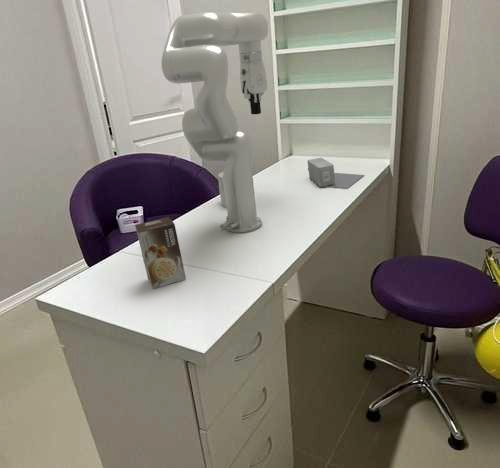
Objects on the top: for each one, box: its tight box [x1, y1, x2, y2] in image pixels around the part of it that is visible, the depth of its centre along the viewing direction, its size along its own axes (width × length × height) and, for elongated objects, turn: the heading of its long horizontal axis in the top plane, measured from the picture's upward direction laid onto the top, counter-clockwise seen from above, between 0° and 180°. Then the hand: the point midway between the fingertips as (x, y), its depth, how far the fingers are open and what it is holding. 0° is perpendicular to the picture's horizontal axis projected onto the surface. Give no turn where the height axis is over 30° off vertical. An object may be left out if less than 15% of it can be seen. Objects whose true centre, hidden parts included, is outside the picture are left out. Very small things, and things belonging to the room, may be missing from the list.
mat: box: [316, 172, 365, 190], centre depth 175 cm, size 18×13×1 cm
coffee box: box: [134, 216, 187, 289], centre depth 109 cm, size 9×6×16 cm
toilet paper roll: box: [217, 171, 227, 208], centre depth 161 cm, size 12×12×12 cm
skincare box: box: [307, 157, 335, 188], centre depth 174 cm, size 8×7×16 cm
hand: (256, 113), depth 151 cm, fingers closed
